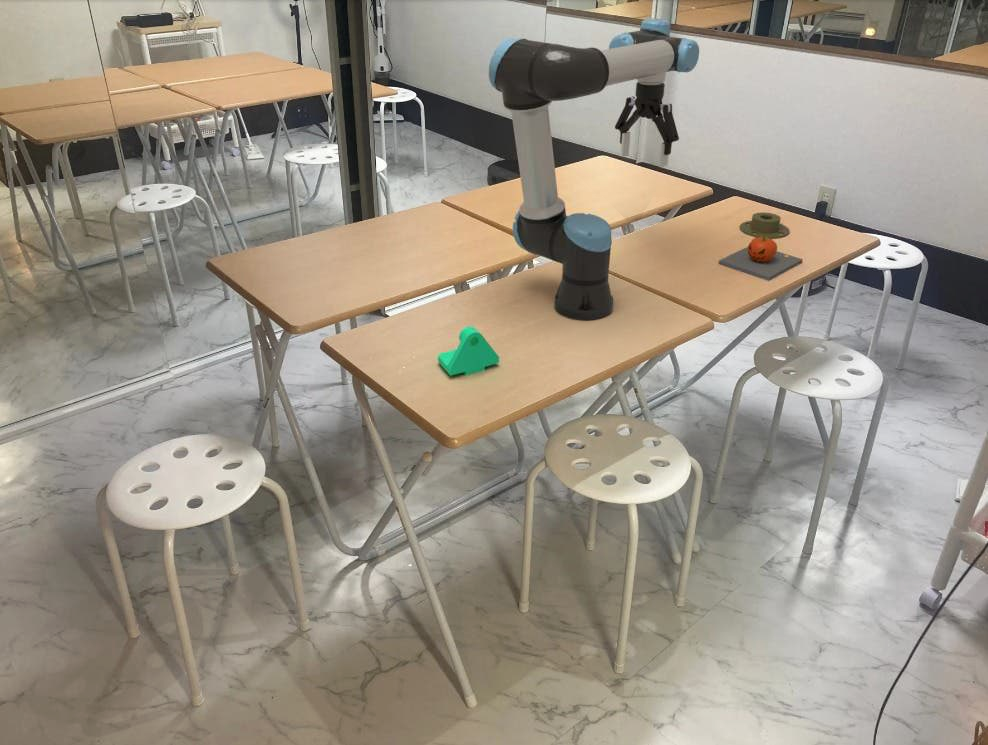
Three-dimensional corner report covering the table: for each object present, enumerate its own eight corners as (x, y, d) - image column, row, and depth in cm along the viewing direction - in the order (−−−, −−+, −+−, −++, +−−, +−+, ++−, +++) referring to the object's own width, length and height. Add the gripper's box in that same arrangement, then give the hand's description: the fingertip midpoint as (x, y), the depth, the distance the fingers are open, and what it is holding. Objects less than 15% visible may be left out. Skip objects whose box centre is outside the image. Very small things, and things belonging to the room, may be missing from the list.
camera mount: (484, 352, 186) (483, 312, 181) (499, 366, 180) (498, 326, 175) (436, 364, 181) (434, 324, 176) (450, 379, 175) (448, 338, 170)
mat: (768, 280, 218) (769, 275, 218) (718, 263, 228) (719, 259, 228) (802, 262, 229) (802, 257, 228) (752, 247, 239) (753, 242, 238)
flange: (775, 229, 240) (800, 217, 248) (732, 216, 249) (758, 205, 258) (772, 244, 242) (798, 231, 251) (730, 231, 251) (755, 219, 260)
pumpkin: (755, 252, 233) (759, 228, 229) (780, 260, 228) (784, 235, 224) (740, 259, 228) (744, 235, 224) (765, 267, 223) (770, 242, 219)
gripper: (698, 86, 207) (688, 167, 218) (623, 73, 223) (617, 149, 234) (680, 91, 203) (671, 173, 214) (605, 77, 219) (600, 154, 230)
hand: (643, 160), depth 224 cm, fingers open, 13 cm apart
